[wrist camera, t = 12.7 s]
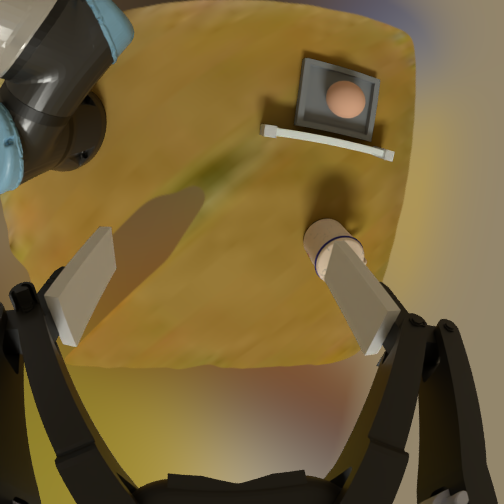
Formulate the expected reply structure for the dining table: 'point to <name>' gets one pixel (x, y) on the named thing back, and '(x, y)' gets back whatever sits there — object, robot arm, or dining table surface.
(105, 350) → the dining table surface
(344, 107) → the ball
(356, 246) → the teacup with lid
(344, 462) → the robot arm
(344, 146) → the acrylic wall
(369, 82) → the tray
